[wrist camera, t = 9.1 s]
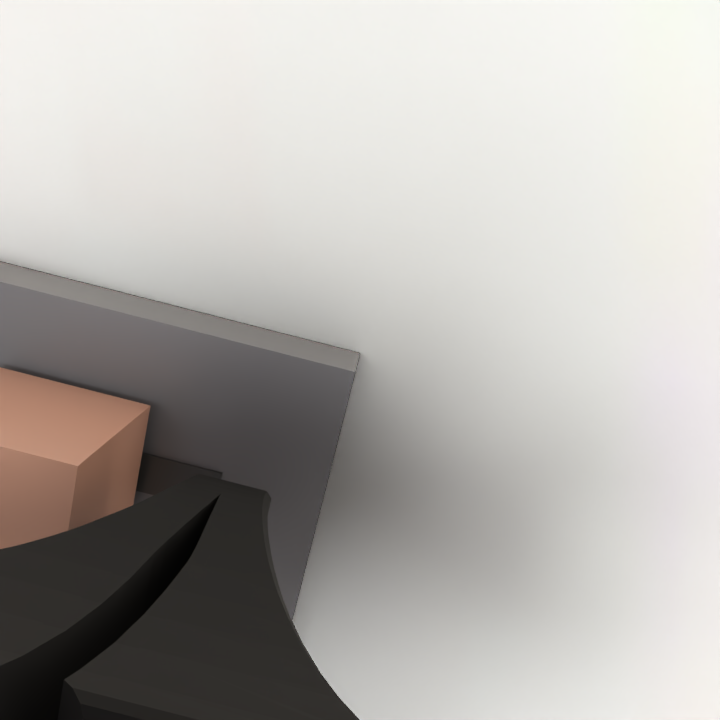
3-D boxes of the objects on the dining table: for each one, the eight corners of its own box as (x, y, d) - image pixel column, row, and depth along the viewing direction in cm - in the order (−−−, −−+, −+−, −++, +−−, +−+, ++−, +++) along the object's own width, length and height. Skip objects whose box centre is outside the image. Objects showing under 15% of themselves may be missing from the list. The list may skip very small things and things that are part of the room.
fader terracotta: (125, 546, 13) (48, 646, 10) (-24, 509, 13) (-144, 597, 10) (150, 405, 12) (74, 468, 9) (-8, 365, 12) (-133, 416, 9)
